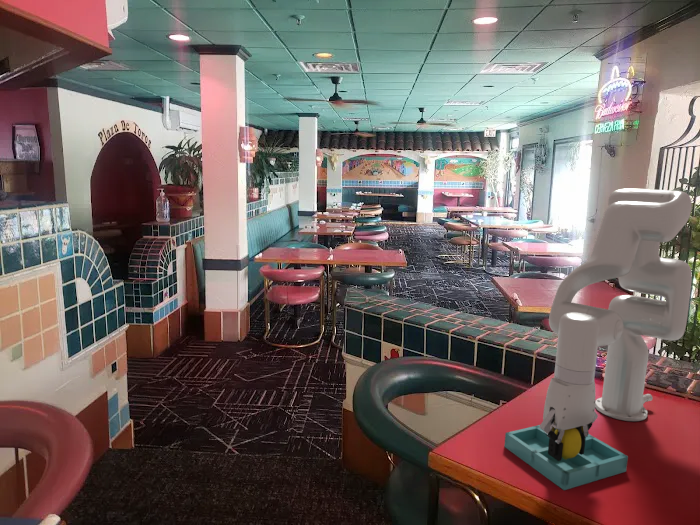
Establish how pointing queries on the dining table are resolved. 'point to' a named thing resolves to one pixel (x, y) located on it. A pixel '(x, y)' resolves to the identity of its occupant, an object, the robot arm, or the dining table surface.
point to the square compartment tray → (571, 471)
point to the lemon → (570, 443)
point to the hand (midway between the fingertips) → (565, 453)
